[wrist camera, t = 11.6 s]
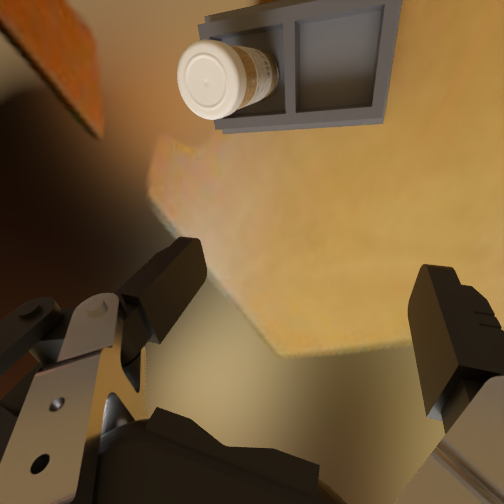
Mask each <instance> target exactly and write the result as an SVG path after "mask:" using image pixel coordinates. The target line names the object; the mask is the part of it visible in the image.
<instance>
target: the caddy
mask: <svg viewBox="0 0 504 504" xmlns="http://www.w3.org/2000/svg"><path fill="white" fill-rule="evenodd" d="M401 4H402V0H278V1H274V2H269V3H264V4H260V5H255V6H251V7H246V8H242V9H237V10H232V11H227V12H223V13H218V14H214V15H209V16H205V22H206V23H204V24H199V25H198V30H199V36H200V40H216V41H221V42H223V43H225V44H227V45H229V46H235V45H236V46H242V47H248V48H253V49H262V50H265V51H267V52H269V53H270V54H271V55H272V56H273V57H274V58H275V60H276V62H277V65H278V68H279V82H278V85H277V88H276V90H275V92H274V93H273V94H272V95H271V96H270V97H268V98H267V99H264V100H260V101H258V102H255V103H253V104H250V105H248V106H245V107H243V108H240V109H237V110H236V111H235V112H233V113H232V114H230V115H228V116H225V117H223V118H220V119H216V120H214V124H215V130H218V129H222V131H223V134H232V133H247V132H263V131H279V130H294V129H310V128H325V127H341V126H357V125H372V124H383V121H384V114H385V108H386V101H387V95H388V88H389V82H390V75H391V69H392V62H393V56H394V49H395V43H396V36H397V30H398V23H399V17H400V10H401Z"/></svg>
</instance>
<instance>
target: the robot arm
mask: <svg viewBox="0 0 504 504" xmlns="http://www.w3.org/2000/svg"><path fill="white" fill-rule="evenodd" d="M206 276H207V267H206V262H205V258H204V254H203V249H202V245H201V242H200V240H199V239H198V238H189V237H179V238H178V239H176V240H175V241H174V242H173V243H172V244H171V245H170V246H169V247H167V248H165V249H164V250H162V251H160V252H158V253H156V254H155V255H154V256H153V257H152V258H151V259H150V260H149V261H148V263H146V264H145V265H144V266H143V267H142V268H141V269H140V270H138V271H137V272H136V273H135V274H134V275H133V276H132V277H131V278H130V279H129V280H128V281H126V282H125V283H124V284H123V285H122V286H121V287H120V288H119V289H118V290H117V291H116V292H115V293H114V294H112V293H102V294H98V295H95V296H93V297H90V298H88V299H87V300H85V301H84V302H82V303H81V304H80V305H79V306H78V307H75V308H63V309H60V308H59V306H58V305H57V303H56V302H55V301H54V299H52V298H49V297H43V298H38V299H34V300H31V301H29V302H27V303H25V304H23V305H21V306H19V307H18V308H17V309H15V310H14V311H12V312H11V313H10V314H9V315H7V316H6V317H5V318H3V319H2V320H1V321H0V377H1V376H2V375H3V374H4V373H5V372H6V371H7V370H8V369H9V368H10V367H11V366H12V365H14V364H15V363H16V362H17V361H18V360H19V359H20V358H21V357H22V356H23V355H24V354H26V352H28V351H29V352H30V353H31V354H32V355H33V356H34V357H35V358H36V359H37V360H38V361H39V363H38V364H37V365H36V366H35V367H34V368H33V369H32V370H31V371H30V372H29V373H28V374H27V375H26V376H25V377H24V378H23V379H22V380H21V381H20V382H19V383H18V384H17V385H16V386H15V387H14V388H13V389H12V390H11V391H10V392H9V393H8V394H6V395H5V396H4V398H2V399H1V400H0V504H347V503H346V502H345V501H344V500H343V499H342V498H341V496H339V494H337V493H336V492H335V491H334V490H333V489H332V488H331V487H330V486H329V485H327V484H326V483H325V482H323V481H322V480H321V479H319V478H318V477H319V466H320V465H318V464H315V463H312V462H309V461H306V460H304V459H301V458H298V457H295V456H292V455H290V454H287V453H284V452H281V451H279V450H276V449H271V448H247V447H228V446H225V445H223V444H221V443H220V442H219V441H218V440H216V439H215V438H214V437H213V436H211V435H210V434H209V433H208V432H206V431H205V430H204V429H203V428H201V427H200V426H198V424H196V423H195V422H194V421H193V420H191V419H189V418H186V417H183V416H181V415H178V414H175V413H172V412H169V411H167V410H164V409H161V408H158V407H157V408H156V409H155V411H154V413H153V414H152V416H151V418H149V413H148V409H147V406H146V401H145V358H146V353H145V349H144V346H145V344H146V343H147V342H148V341H149V342H153V343H157V344H161V342H162V341H163V339H164V338H165V337H166V335H167V334H168V332H169V331H170V330H171V328H172V327H173V325H174V324H175V323H176V321H177V320H178V318H179V317H180V315H181V314H182V312H183V311H184V310H185V309H186V307H187V306H188V304H189V303H190V302H191V300H192V299H193V297H194V296H195V294H196V293H197V292H198V290H199V289H200V287H201V286H202V285H203V283H204V282H205V279H206ZM494 315H495V314H494V312H493V310H492V308H491V306H490V305H489V303H488V301H487V299H486V298H484V297H483V296H482V295H481V294H480V293H479V292H478V291H477V290H475V289H474V288H473V287H472V286H466V285H461V283H460V281H459V279H458V277H457V274H456V272H455V270H454V269H453V268H452V267H446V266H437V265H428V264H423V265H422V266H421V268H420V270H419V273H418V276H417V279H416V282H415V285H414V288H413V291H412V293H411V296H410V299H409V304H408V320H409V325H410V330H411V336H412V341H413V347H414V352H415V357H416V363H417V368H418V373H419V379H420V384H421V390H422V395H423V400H424V406H425V411H426V416H427V417H429V418H433V419H436V420H440V421H443V424H444V429H445V434H446V435H445V436H444V437H443V439H442V440H441V441H440V443H439V444H438V445H437V447H436V448H435V449H434V451H433V452H432V453H431V454H430V456H429V457H428V458H427V460H426V461H425V462H424V464H423V465H422V466H421V468H420V469H419V470H418V471H417V473H416V474H415V475H414V477H413V478H412V479H411V481H410V482H409V483H408V484H407V486H406V487H405V489H404V490H403V491H402V492H401V494H400V495H399V496H398V498H397V499H396V500H395V502H394V503H393V504H504V331H503V330H501V325H500V323H499V321H498V320H497V318H496V317H494Z"/></svg>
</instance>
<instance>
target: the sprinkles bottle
mask: <svg viewBox="0 0 504 504" xmlns="http://www.w3.org/2000/svg"><path fill="white" fill-rule="evenodd" d="M177 81H178V86H179V90H180V93H181V96H182V98H183V100H184V102H185V103H186V104H187V106H188V107H189V108H190V109H191V110H192V111H193V112H194V113H195V114H197V115H198V116H200V117H202V118H205V119H210V120H216V119H220V118H223V117H225V116H228V115H230V114H232V113H233V112H235V111H236V110H237V109H240V108H243V107H245V106H248V105H250V104H253V103H255V102H258V101H260V100H264V99H267V98H268V97H270V96H271V95H272V94H273V93H274V92H275V90H276V88H277V85H278V82H279V68H278V65H277V62H276V60H275V58H274V57H273V56H272V55H271V54H270V53H269V52H267V51H265V50H262V49H253V48H248V47H242V46H236V45H235V46H229V45H227V44H225V43H223V42H221V41H216V40H198V41H196V42H194V43H192V44H190V45H189V46H188V47H187V48H186V49H185V51H184V52H183V54H182V55H181V58H180V61H179V64H178V70H177Z"/></svg>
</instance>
